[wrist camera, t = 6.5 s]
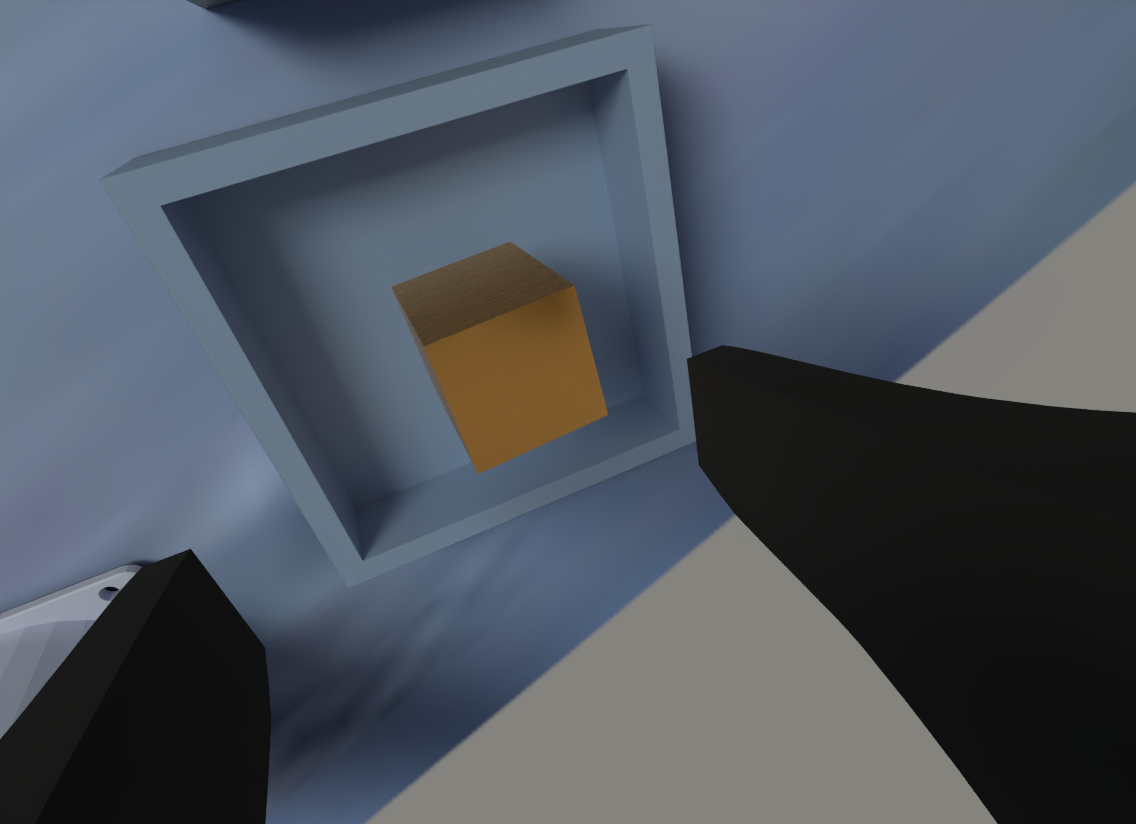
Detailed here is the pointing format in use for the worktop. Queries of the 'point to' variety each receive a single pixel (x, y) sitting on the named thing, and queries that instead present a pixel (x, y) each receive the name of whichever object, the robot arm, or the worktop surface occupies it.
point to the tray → (415, 247)
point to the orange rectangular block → (504, 351)
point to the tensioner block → (209, 2)
